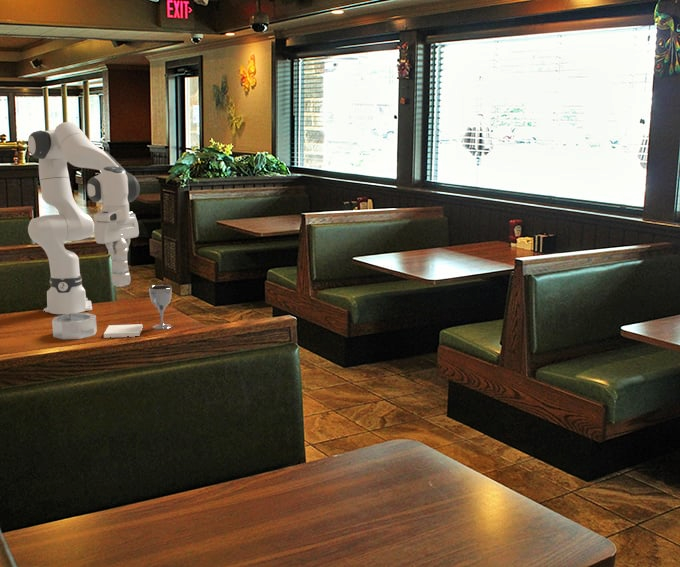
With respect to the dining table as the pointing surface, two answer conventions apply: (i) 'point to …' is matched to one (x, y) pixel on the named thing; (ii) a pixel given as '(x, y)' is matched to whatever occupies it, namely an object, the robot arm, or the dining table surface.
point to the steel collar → (74, 326)
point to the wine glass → (161, 301)
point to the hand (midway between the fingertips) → (118, 253)
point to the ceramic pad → (123, 330)
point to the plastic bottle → (120, 264)
